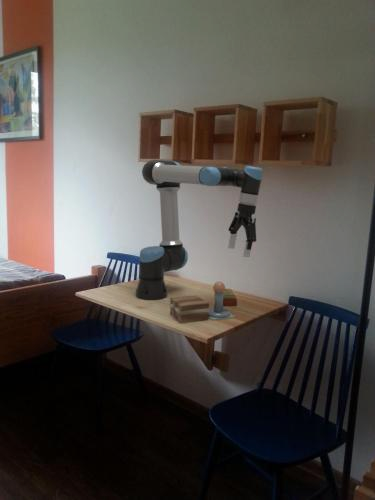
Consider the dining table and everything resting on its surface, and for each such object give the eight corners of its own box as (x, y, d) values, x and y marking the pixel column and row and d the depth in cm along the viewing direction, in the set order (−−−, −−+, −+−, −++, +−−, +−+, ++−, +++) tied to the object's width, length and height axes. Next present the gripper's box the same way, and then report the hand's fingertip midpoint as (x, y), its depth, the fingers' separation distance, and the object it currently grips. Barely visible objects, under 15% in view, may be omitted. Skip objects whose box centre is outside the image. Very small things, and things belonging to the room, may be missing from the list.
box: (169, 314, 177) (170, 297, 176) (196, 311, 182) (196, 295, 180) (180, 323, 166) (181, 306, 165) (208, 320, 171) (209, 303, 169)
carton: (231, 297, 206) (231, 288, 205) (237, 307, 190) (237, 298, 189) (214, 296, 205) (214, 288, 205) (219, 306, 190) (219, 297, 189)
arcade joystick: (202, 312, 179) (203, 280, 177) (223, 309, 183) (224, 278, 181) (212, 319, 170) (214, 285, 168) (234, 316, 174) (235, 283, 172)
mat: (202, 312, 179) (202, 312, 179) (222, 310, 183) (223, 309, 183) (212, 320, 170) (212, 319, 170) (234, 317, 174) (234, 316, 174)
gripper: (271, 209, 167) (260, 261, 172) (241, 200, 189) (232, 245, 194) (255, 208, 164) (245, 260, 169) (226, 198, 186) (218, 244, 191)
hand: (238, 252), depth 181 cm, fingers open, 13 cm apart
